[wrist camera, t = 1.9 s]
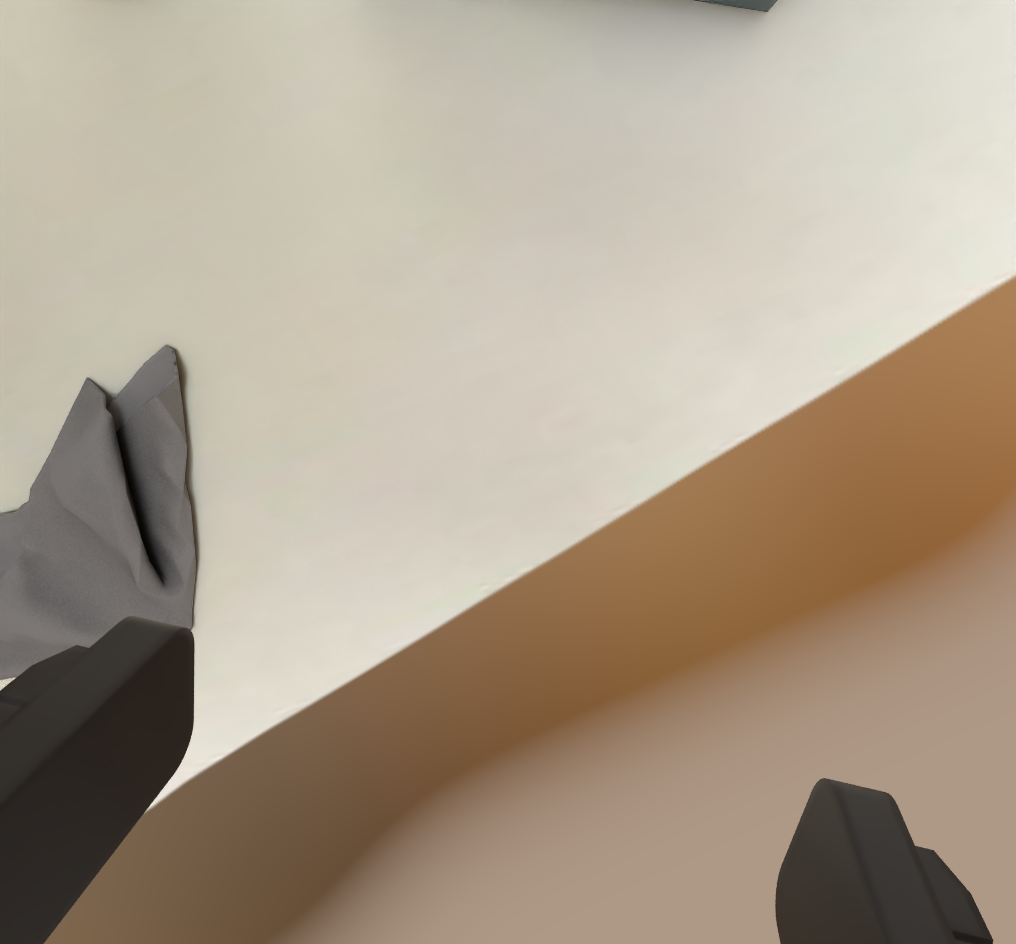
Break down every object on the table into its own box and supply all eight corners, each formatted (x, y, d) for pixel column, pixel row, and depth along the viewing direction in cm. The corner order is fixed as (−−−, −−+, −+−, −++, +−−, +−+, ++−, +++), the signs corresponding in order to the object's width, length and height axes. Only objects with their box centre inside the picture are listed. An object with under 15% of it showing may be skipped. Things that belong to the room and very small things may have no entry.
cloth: (61, 733, 50) (37, 758, 48) (-105, 582, 47) (-139, 601, 45) (331, 514, 41) (315, 532, 39) (146, 315, 39) (118, 323, 37)
